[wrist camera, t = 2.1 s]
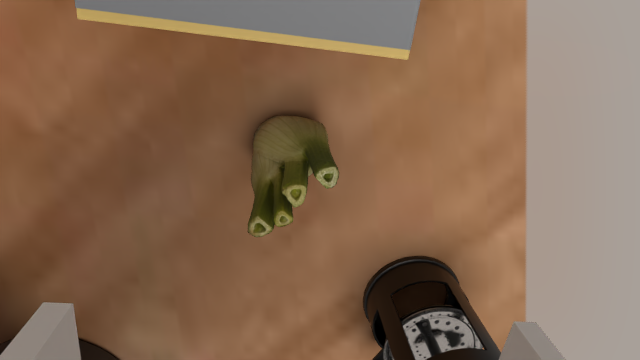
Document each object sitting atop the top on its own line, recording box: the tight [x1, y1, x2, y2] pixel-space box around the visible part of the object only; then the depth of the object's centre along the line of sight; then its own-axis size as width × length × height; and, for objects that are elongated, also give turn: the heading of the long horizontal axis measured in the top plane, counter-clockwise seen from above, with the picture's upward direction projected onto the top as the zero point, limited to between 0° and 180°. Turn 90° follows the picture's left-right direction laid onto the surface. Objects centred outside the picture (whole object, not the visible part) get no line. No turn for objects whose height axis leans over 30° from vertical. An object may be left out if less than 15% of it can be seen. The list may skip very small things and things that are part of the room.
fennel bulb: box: [248, 116, 339, 237], centre depth 26 cm, size 6×5×12 cm
